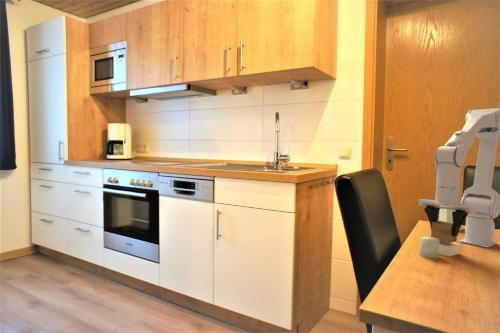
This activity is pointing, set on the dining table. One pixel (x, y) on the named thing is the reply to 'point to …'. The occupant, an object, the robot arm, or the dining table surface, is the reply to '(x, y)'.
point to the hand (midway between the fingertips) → (444, 233)
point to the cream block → (448, 248)
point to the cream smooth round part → (429, 247)
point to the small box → (446, 215)
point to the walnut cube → (443, 231)
